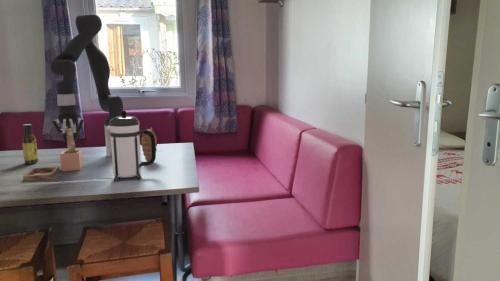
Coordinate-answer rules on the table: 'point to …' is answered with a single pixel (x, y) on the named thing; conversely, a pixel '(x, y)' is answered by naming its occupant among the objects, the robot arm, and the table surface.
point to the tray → (41, 173)
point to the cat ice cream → (147, 145)
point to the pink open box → (71, 160)
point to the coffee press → (128, 146)
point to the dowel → (70, 141)
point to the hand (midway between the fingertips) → (70, 140)
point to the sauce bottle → (29, 145)
